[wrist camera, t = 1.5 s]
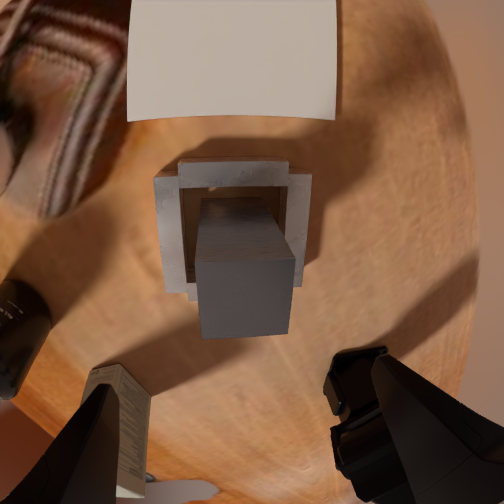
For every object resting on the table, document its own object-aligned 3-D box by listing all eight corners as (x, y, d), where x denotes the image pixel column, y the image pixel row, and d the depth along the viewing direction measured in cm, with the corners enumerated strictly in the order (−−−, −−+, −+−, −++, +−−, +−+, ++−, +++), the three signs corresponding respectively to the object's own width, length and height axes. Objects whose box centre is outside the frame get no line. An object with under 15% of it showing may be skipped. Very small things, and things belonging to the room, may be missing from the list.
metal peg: (261, 196, 20) (295, 258, 12) (260, 250, 22) (287, 333, 14) (201, 198, 19) (194, 262, 11) (204, 252, 21) (202, 339, 13)
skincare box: (88, 369, 25) (60, 471, 14) (120, 361, 25) (96, 474, 14) (123, 404, 28) (110, 498, 17) (154, 398, 28) (146, 500, 17)
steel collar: (303, 157, 19) (312, 162, 17) (293, 280, 23) (300, 295, 21) (158, 160, 18) (152, 165, 16) (170, 286, 22) (167, 301, 20)
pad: (329, -39, 12) (333, -43, 12) (330, 119, 18) (334, 120, 17) (141, -44, 11) (139, -49, 10) (130, 121, 16) (127, 121, 16)
